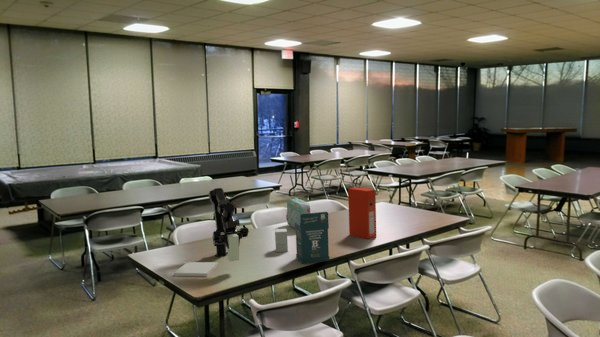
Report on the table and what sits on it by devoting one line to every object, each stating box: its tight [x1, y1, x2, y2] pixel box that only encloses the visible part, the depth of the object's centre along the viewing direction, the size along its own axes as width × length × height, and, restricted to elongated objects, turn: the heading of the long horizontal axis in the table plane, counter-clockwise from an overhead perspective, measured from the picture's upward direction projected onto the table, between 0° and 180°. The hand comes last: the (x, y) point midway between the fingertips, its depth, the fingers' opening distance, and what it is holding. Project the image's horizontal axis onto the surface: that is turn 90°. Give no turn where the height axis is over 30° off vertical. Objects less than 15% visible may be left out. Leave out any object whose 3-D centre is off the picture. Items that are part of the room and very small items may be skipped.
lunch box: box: [285, 197, 311, 230], centre depth 331 cm, size 27×10×21 cm, turn 25°
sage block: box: [227, 234, 240, 262], centre depth 237 cm, size 5×5×13 cm
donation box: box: [295, 211, 331, 265], centre depth 256 cm, size 16×16×28 cm
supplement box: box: [274, 228, 289, 253], centre depth 274 cm, size 7×7×13 cm
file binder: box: [347, 186, 377, 240], centre depth 300 cm, size 8×17×32 cm, turn 39°
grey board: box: [173, 261, 219, 277], centre depth 243 cm, size 18×18×2 cm
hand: (233, 247), depth 236 cm, fingers closed on sage block, 5 cm apart
